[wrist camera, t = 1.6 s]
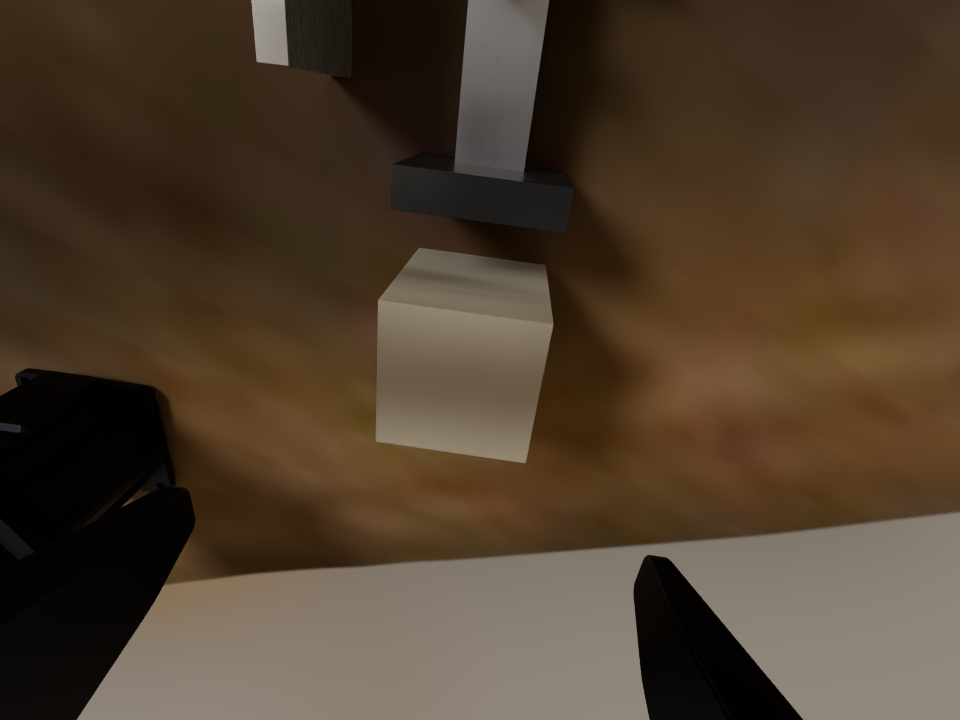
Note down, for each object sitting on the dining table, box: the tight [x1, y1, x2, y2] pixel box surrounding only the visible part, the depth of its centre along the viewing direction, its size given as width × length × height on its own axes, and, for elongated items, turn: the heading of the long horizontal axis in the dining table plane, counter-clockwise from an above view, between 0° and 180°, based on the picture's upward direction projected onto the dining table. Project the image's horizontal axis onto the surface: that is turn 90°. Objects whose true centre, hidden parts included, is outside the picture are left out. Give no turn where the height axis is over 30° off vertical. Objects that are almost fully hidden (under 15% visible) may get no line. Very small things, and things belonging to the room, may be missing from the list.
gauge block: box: [376, 248, 553, 463], centre depth 17 cm, size 5×5×6 cm
